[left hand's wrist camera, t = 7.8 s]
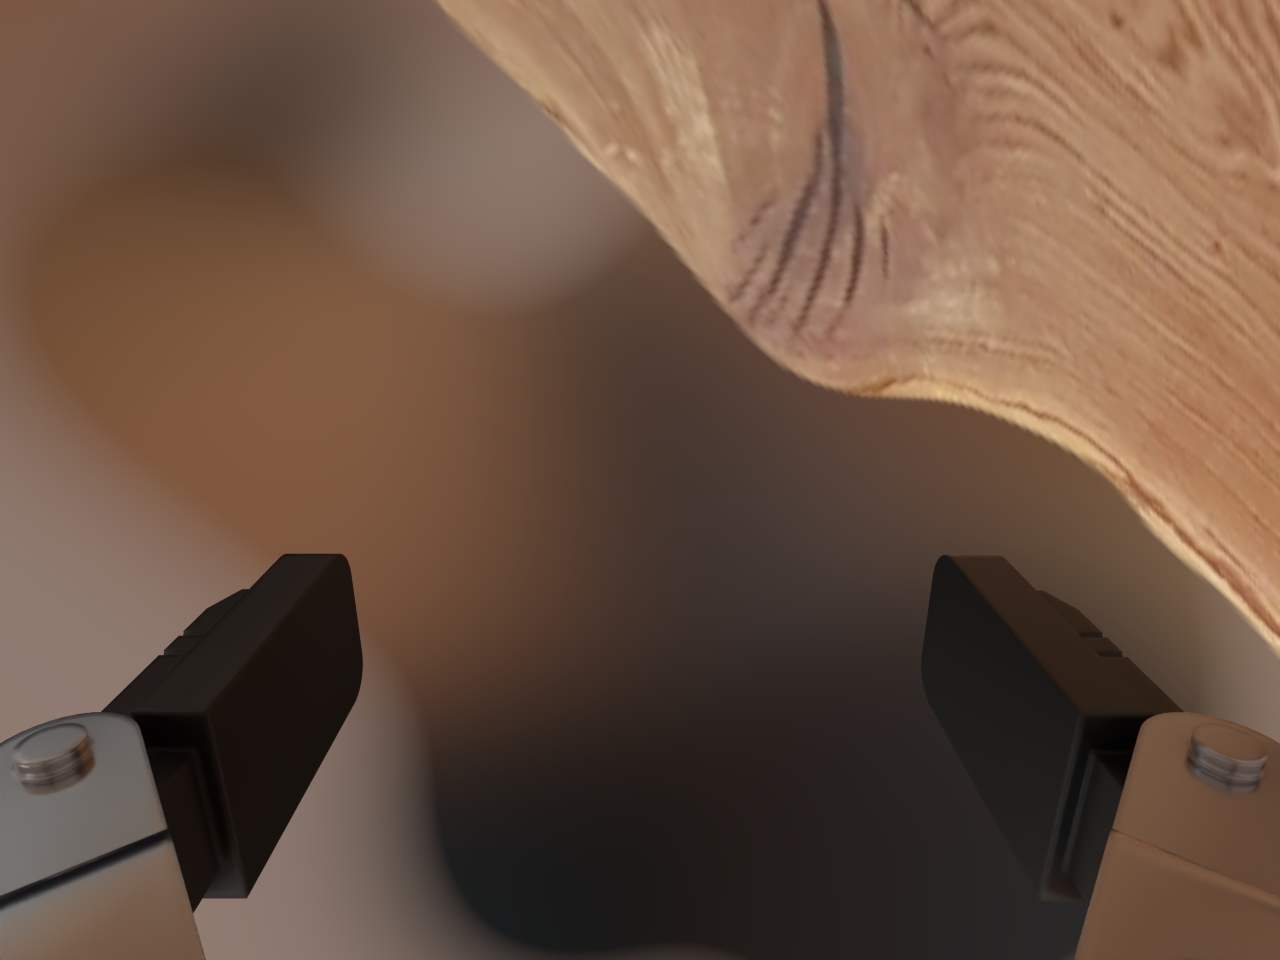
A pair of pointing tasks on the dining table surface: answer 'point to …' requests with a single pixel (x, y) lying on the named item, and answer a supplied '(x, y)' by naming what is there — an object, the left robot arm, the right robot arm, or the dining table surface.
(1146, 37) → the dining table surface
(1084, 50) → the dining table surface
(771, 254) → the dining table surface
